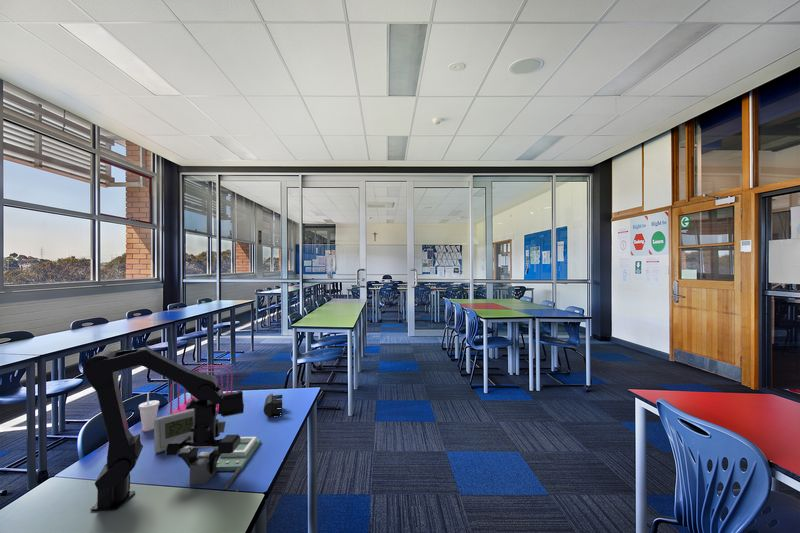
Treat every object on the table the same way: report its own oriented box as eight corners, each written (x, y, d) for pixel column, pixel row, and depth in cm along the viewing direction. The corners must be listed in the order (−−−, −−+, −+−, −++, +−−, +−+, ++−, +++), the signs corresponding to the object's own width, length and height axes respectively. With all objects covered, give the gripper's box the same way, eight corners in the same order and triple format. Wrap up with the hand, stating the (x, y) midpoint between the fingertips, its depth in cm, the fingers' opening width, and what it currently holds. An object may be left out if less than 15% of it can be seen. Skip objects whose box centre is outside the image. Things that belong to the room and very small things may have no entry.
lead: (227, 490, 88) (227, 486, 88) (223, 490, 88) (223, 486, 88) (245, 464, 100) (245, 461, 100) (242, 464, 100) (242, 461, 100)
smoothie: (133, 431, 120) (134, 394, 120) (150, 423, 126) (151, 388, 126) (146, 434, 118) (147, 396, 119) (163, 425, 125) (164, 390, 125)
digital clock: (151, 456, 104) (152, 423, 105) (154, 443, 112) (155, 413, 112) (209, 442, 113) (209, 412, 113) (208, 431, 121) (208, 403, 121)
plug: (205, 484, 91) (206, 463, 91) (189, 484, 90) (189, 463, 91) (216, 471, 97) (217, 451, 97) (201, 471, 96) (201, 451, 97)
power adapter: (265, 409, 140) (265, 394, 141) (282, 407, 143) (282, 392, 143) (263, 419, 131) (263, 402, 131) (281, 417, 133) (281, 400, 133)
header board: (241, 470, 97) (241, 461, 97) (197, 471, 96) (197, 462, 96) (260, 442, 113) (260, 434, 113) (223, 443, 112) (223, 435, 112)
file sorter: (167, 420, 130) (167, 381, 130) (195, 396, 154) (196, 364, 155) (213, 417, 132) (213, 379, 133) (234, 394, 157) (234, 362, 157)
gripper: (248, 407, 103) (247, 456, 102) (188, 409, 101) (187, 458, 101) (232, 424, 91) (231, 479, 91) (164, 425, 90) (163, 481, 90)
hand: (203, 473), depth 94 cm, fingers closed on plug, 4 cm apart
